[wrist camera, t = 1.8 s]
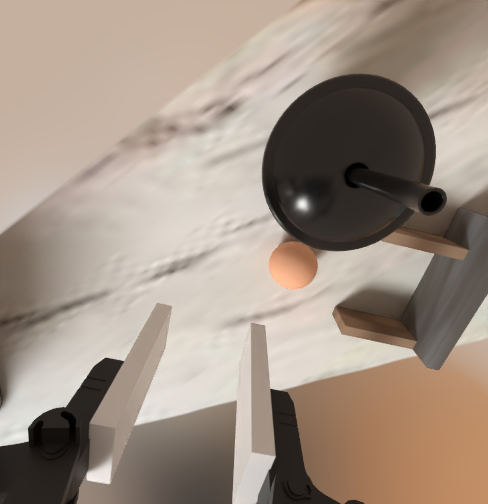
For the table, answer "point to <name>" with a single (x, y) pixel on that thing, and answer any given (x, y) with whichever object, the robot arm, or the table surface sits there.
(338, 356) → the table surface
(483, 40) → the table surface
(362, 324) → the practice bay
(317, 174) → the drinking cup
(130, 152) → the table surface
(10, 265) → the table surface
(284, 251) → the ball
